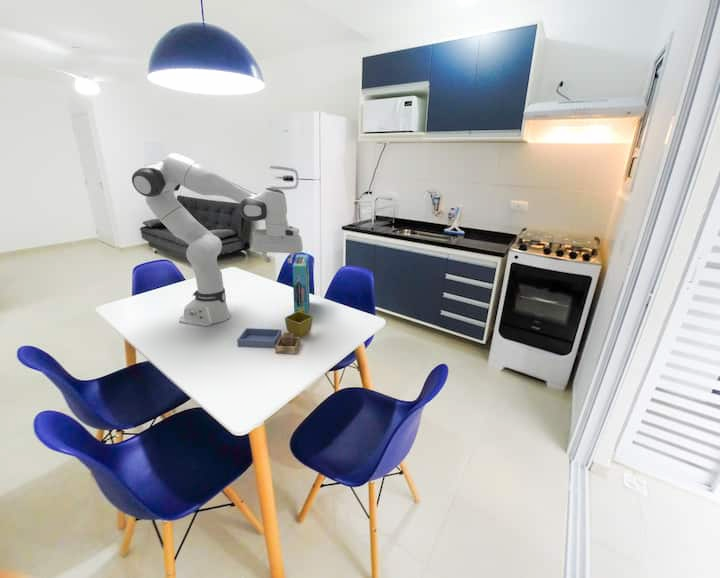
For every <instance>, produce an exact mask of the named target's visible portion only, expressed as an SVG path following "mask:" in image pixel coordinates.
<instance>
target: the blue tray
mask: <svg viewBox="0 0 720 578" xmlns="http://www.w3.org/2000/svg"><path fill="white" fill-rule="evenodd" d="M281 336H283V334H282V329H276V328H252V327H251V328H250V327H246V328H245V329H244V330H243V332H241V334H240V336H239V337H238V338H237V339H236V342H237V347H244V348H245V347H246V348H266V349H269V348H270V349H275V346H276V344H277V342H278V340H279V338H280V337H281Z"/></svg>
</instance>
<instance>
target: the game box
mask: <svg viewBox="0 0 720 578" xmlns="http://www.w3.org/2000/svg"><path fill="white" fill-rule="evenodd" d="M309 263H310V262H309V254H296V256H295V259H294V262H293V263H292V285H293V313H295V312H298V311H299V312H302V313H305V314H308V313H309V308H310V273H309V272H310V271H309V269H310V268H309V265H310V264H309ZM308 315H309V314H308Z"/></svg>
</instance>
